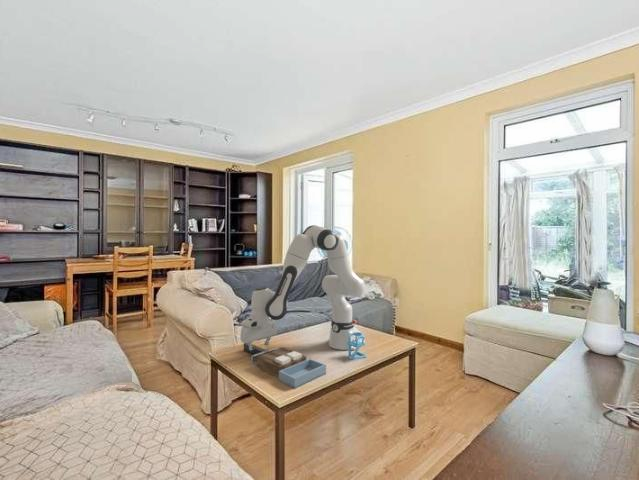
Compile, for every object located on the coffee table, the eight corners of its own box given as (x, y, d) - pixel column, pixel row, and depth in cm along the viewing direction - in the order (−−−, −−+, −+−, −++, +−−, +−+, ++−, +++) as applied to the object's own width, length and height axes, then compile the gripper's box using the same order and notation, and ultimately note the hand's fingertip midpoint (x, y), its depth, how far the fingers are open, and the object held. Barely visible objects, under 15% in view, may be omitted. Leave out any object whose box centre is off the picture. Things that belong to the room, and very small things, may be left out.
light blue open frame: (344, 356, 163) (345, 333, 163) (356, 352, 168) (356, 330, 168) (355, 361, 157) (356, 337, 157) (367, 357, 162) (367, 333, 162)
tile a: (294, 354, 151) (294, 351, 151) (301, 357, 148) (301, 354, 148) (286, 357, 148) (286, 353, 148) (293, 360, 144) (293, 356, 144)
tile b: (283, 358, 146) (283, 355, 146) (290, 361, 143) (290, 358, 143) (274, 361, 142) (274, 358, 142) (282, 364, 139) (282, 361, 139)
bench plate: (283, 357, 160) (283, 347, 160) (306, 367, 149) (306, 356, 149) (257, 367, 148) (257, 356, 148) (279, 378, 137) (280, 366, 137)
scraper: (232, 354, 162) (232, 346, 162) (257, 346, 174) (258, 339, 174) (252, 365, 150) (253, 356, 150) (279, 355, 162) (279, 347, 162)
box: (309, 366, 149) (310, 358, 149) (325, 373, 143) (326, 364, 142) (278, 380, 135) (278, 371, 135) (294, 388, 129) (295, 378, 128)
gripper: (271, 315, 168) (271, 341, 169) (239, 322, 153) (238, 350, 153) (279, 317, 164) (279, 344, 164) (246, 325, 149) (245, 354, 149)
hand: (259, 347), depth 159 cm, fingers open, 8 cm apart
